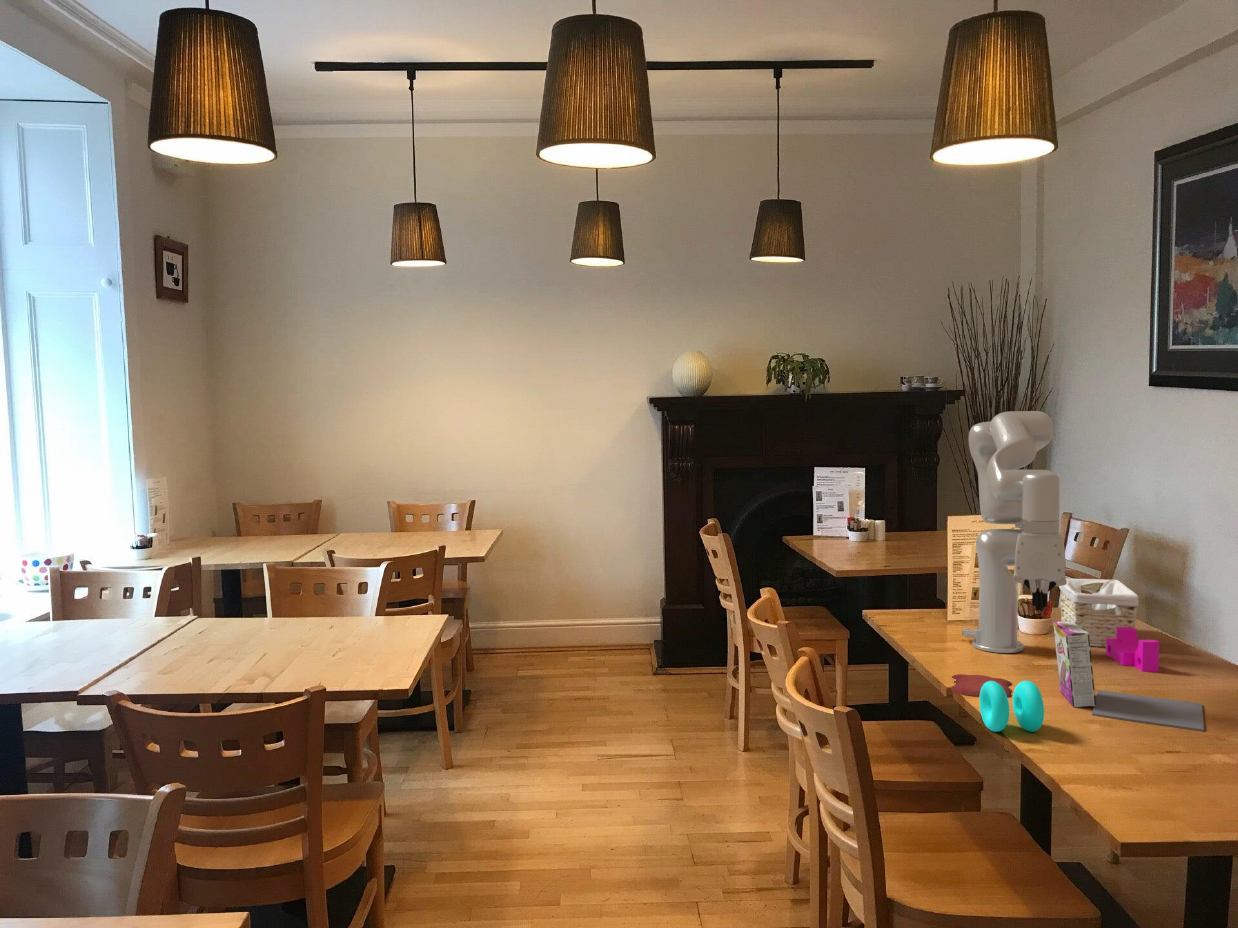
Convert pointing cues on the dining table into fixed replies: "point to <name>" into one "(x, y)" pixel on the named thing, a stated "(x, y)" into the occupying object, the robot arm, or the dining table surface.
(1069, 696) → the candy bar box
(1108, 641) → the toy block
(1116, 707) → the mat
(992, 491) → the robot arm
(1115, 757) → the dining table surface
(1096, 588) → the storage basket
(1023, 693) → the donuts
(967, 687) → the patty
